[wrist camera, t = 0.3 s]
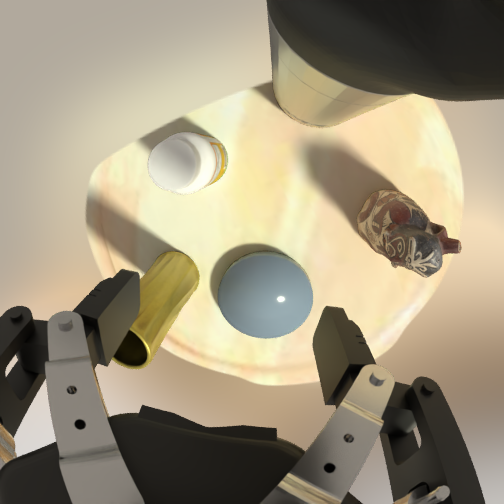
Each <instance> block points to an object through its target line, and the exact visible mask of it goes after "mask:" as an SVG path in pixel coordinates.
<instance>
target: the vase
mask: <svg viewBox="0 0 504 504" xmlns="http://www.w3.org/2000/svg"><path fill="white" fill-rule="evenodd" d="M198 284H199V272H198V269H197V267H196V265H195V263H194V262H193V261H192V260H191V259H190V258H189V257H187V256H186V255H184V254H182V253H179V252H174V251H170V252H166V253H163V254H161V255H160V256H159V257H158V258H157V259H156V261H155V263H154V264H153V265H152V266H151V268H150V269H149V270H148V271H147V272H146V274H145V275H144V276H143V277H142V278H141V279H140V310H139V314H138V316H137V318H136V319H135V321H134V323H133V324H132V326H131V328H130V329H129V331H128V332H127V334H126V336H125V337H124V339H123V341H122V342H121V344H120V346H119V347H118V349H117V351H116V353H115V354H114V356H113V358H112V360H113V361H115V362H116V363H117V364H119V365H121V366H124V367H126V368H130V369H141V368H144V367H146V366H147V365H148V364H149V363H150V362H151V361H152V359H153V357H154V355H155V353H156V352H157V350H158V348H159V346H160V345H161V343H162V341H163V339H164V337H165V336H166V334H167V332H168V331H169V329H170V327H171V326H172V324H173V323H174V321H175V320H176V318H177V316H178V314H179V313H180V311H181V309H182V307H183V306H184V305H185V303H186V302H187V301H188V299H189V298H190V296H191V295H192V294H193V292H194V291H195V290H196V289H197V287H198Z"/></svg>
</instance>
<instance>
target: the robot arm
mask: <svg viewBox="0 0 504 504" xmlns="http://www.w3.org/2000/svg"><path fill="white" fill-rule="evenodd" d="M267 11H268V23H269V32H270V47H271V61H272V79H273V91H274V94H275V98H276V100H277V102H278V104H279V105H280V107H281V108H282V109H283V110H284V112H285V113H286V114H287V115H289V116H290V117H291V118H292V119H294V120H296V121H298V122H299V123H301V124H304V125H307V126H310V127H318V128H323V127H331V126H335V125H338V124H340V123H342V122H345V121H347V120H350V119H352V118H354V117H356V116H359V115H361V114H363V113H366V112H368V111H371V110H373V109H375V108H378V107H380V106H383V105H385V104H388V103H390V102H393V101H396V100H398V99H400V98H403V97H406V96H408V95H411V94H418V95H421V96H425V97H429V98H433V99H438V100H445V101H476V100H493V99H494V100H495V99H504V0H267ZM139 310H140V276H139V273H138V272H134V271H129V270H125V269H121V270H120V271H119V272H118V273H117V274H116V275H115V276H114V277H113V278H107V279H105V280H103V281H101V282H100V283H99V284H98V285H97V286H96V287H95V288H94V290H92V291H91V292H90V293H89V295H87V296H86V297H85V298H84V299H83V301H81V302H80V304H79V305H78V306H77V307H76V308H75V309H74V310H73V311H72V312H71V311H63V312H59V313H56V314H55V315H53V316H52V317H51V318H50V319H49V321H43V320H34V319H33V317H32V313H31V311H30V309H29V308H27V307H24V306H16V307H13V308H10V309H9V310H7V311H6V312H5V313H4V314H3V315H2V316H1V317H0V504H362V503H361V502H360V501H359V500H358V499H356V498H355V497H354V496H353V495H352V494H350V493H349V492H348V491H349V489H350V487H351V485H352V484H353V482H354V481H355V478H356V477H357V475H358V474H359V472H360V470H361V468H362V466H363V465H364V463H365V461H366V459H367V457H368V455H369V453H370V451H371V449H372V447H373V445H374V443H375V441H376V439H377V437H378V434H380V438H381V442H382V447H383V451H384V456H385V460H386V465H387V469H388V475H389V479H390V485H391V490H392V495H393V501H394V503H393V504H485V500H484V497H483V494H482V490H481V487H480V484H479V481H478V477H477V475H476V471H475V469H474V466H473V463H472V461H471V457H470V455H469V452H468V450H467V447H466V444H465V442H464V440H463V437H462V435H461V432H460V430H459V427H458V425H457V423H456V421H455V418H454V416H453V414H452V412H451V410H450V407H449V405H448V403H447V401H446V399H445V397H444V395H443V393H442V391H441V389H440V387H439V386H438V385H437V383H436V382H434V381H433V380H432V379H429V378H427V377H418V378H416V379H415V380H414V381H413V383H412V384H411V385H407V384H402V383H398V382H395V380H394V377H393V375H392V374H391V373H390V372H389V371H388V370H387V369H386V368H384V367H382V366H379V365H376V363H375V360H374V358H373V356H372V354H371V351H370V349H369V347H368V345H367V344H366V340H365V338H363V334H362V332H361V330H360V328H359V327H358V326H357V325H356V324H355V323H354V322H353V321H352V320H348V317H347V315H346V313H345V311H344V309H343V308H338V307H331V306H326V307H325V308H324V310H323V312H322V315H321V318H320V320H319V323H318V326H317V328H316V331H315V333H314V337H313V351H314V355H315V360H316V364H317V369H318V373H319V378H320V382H321V387H322V392H323V397H324V401H325V405H335V406H336V411H335V412H334V413H333V415H332V416H331V418H330V419H329V421H328V422H327V423H326V425H325V426H324V428H323V429H322V430H321V432H320V433H319V434H318V436H317V437H316V439H315V440H314V441H313V442H312V444H311V445H310V447H308V449H307V450H306V451H304V450H303V449H302V448H300V447H298V446H297V445H295V444H293V443H291V442H289V441H286V440H284V439H281V438H278V437H277V429H276V428H266V427H255V426H246V425H241V426H227V427H205V426H202V425H200V424H197V423H195V422H193V421H190V420H188V419H186V418H184V417H181V416H179V415H177V414H175V413H171V412H167V411H163V410H159V409H155V408H152V407H148V406H145V405H142V407H141V409H140V412H139V413H125V414H118V415H114V416H111V417H110V416H109V414H108V411H107V408H106V406H105V402H104V399H103V396H102V393H101V390H100V387H99V383H98V380H97V376H96V372H95V367H96V365H97V364H101V365H104V366H108V365H109V363H110V361H111V359H112V358H113V356H114V354H115V353H116V351H117V349H118V347H119V346H120V344H121V342H122V341H123V339H124V337H125V336H126V334H127V332H128V331H129V329H130V328H131V326H132V324H133V323H134V321H135V319H136V318H137V316H138V314H139ZM15 354H16V356H17V358H18V361H17V362H16V364H15V365H14V367H13V368H12V369H11V371H10V372H9V374H8V375H7V377H6V376H5V371H6V367H7V365H8V364H9V362H10V361H11V360H12V358H13V357H14V356H15ZM45 379H46V383H47V391H48V399H49V406H50V411H51V417H52V423H53V427H54V432H55V436H56V442H54V443H52V444H49V445H47V446H45V447H42V448H40V449H37V450H35V451H32V452H30V453H27V454H25V455H22V456H20V457H17V455H16V452H15V442H14V439H13V438H14V436H15V434H16V431H17V429H18V427H19V426H20V424H21V422H22V419H23V418H24V416H25V414H26V412H27V410H28V408H29V406H30V405H31V403H32V401H33V399H34V398H35V396H36V394H37V392H38V391H39V389H40V387H41V385H42V384H43V382H44V380H45ZM416 426H417V427H418V430H419V433H420V436H421V446H420V448H419V447H418V444H417V441H416V437H415V434H414V432H413V429H414V428H415V427H416Z"/></svg>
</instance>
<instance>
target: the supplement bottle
mask: <svg viewBox="0 0 504 504" xmlns="http://www.w3.org/2000/svg"><path fill="white" fill-rule="evenodd" d="M227 165H228V154H227V151H226V149H225V147H224V146H223V144H222V143H221V142H220V141H218V140H217V139H215V138H213V137H210V136H206V135H201V134H197V133H192V132H180V133H176V134H174V135H171V136H170V137H168V138H167V139H166V140H164V141H162V142H160V143H159V144H157V145H156V146H155V147H154V148H153V150H152V151H151V153H150V156H149V159H148V172H149V175H150V177H151V179H152V181H153V182H154V183H155V184H156V185H157V186H158V187H160V188H161V189H164V190H167V191H171V192H173V193H176V194H191V193H194V192H197V191H199V190H201V189H203V188H205V187H207V186H209V185H211V184H213V183H214V182H216V181H217V180H219V179H220V178H221V177H222V176H223V175H224V173H225V171H226V169H227Z"/></svg>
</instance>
